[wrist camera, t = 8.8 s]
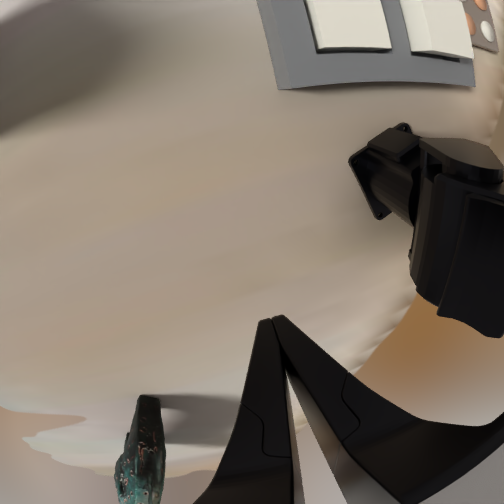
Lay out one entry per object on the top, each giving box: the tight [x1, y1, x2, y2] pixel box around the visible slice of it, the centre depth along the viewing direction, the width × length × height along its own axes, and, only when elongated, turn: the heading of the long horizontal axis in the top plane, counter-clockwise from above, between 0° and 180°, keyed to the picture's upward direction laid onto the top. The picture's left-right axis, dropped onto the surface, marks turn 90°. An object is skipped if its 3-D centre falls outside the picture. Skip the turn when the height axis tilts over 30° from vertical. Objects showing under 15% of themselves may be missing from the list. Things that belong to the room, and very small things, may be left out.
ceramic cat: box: [114, 395, 166, 504], centre depth 27 cm, size 20×6×20 cm, turn 154°
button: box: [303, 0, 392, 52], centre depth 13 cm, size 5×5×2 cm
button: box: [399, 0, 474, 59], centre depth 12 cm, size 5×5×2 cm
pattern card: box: [459, 0, 499, 52], centre depth 13 cm, size 8×8×1 cm
